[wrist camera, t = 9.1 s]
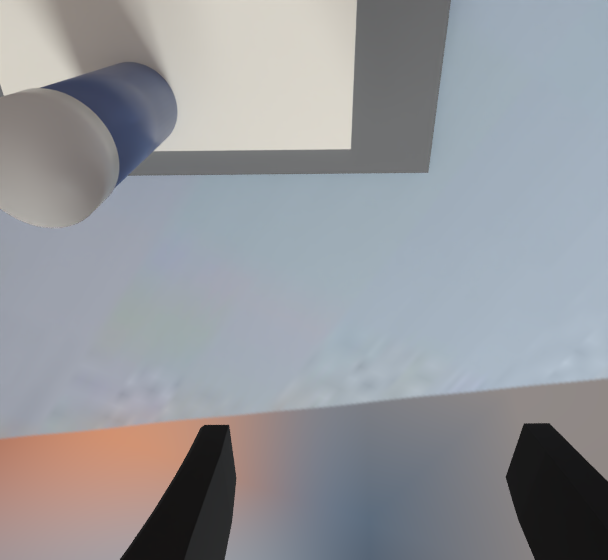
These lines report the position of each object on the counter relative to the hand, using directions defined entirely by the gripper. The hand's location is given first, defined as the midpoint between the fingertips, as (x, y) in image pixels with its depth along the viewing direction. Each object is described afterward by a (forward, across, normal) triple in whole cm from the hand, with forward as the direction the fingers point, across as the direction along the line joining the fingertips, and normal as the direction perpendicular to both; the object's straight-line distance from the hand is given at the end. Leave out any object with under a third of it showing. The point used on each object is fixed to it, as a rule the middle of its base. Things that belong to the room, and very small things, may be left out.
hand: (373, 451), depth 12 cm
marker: (+9, +8, -6) cm, 14 cm away
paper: (+10, +6, -9) cm, 15 cm away
